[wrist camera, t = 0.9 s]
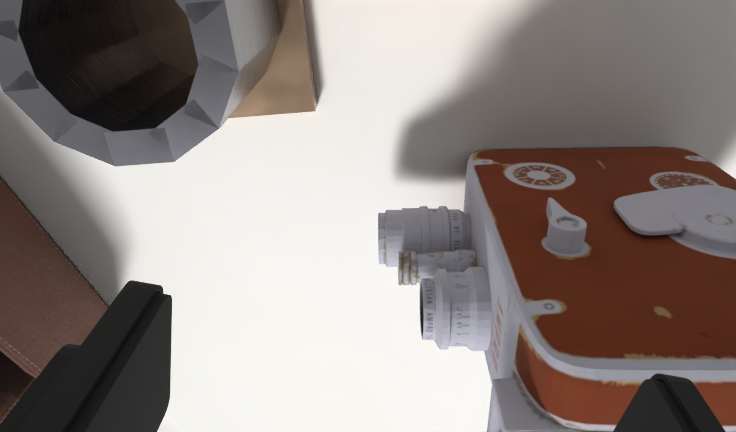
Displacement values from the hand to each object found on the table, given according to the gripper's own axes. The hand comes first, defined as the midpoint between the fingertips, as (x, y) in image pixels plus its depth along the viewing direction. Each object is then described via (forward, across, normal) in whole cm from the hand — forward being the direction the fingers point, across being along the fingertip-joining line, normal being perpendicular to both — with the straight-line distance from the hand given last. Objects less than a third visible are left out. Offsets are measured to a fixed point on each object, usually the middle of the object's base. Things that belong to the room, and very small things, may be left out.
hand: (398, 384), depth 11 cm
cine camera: (+25, -10, +6) cm, 27 cm away
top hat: (+24, +12, -2) cm, 27 cm away
